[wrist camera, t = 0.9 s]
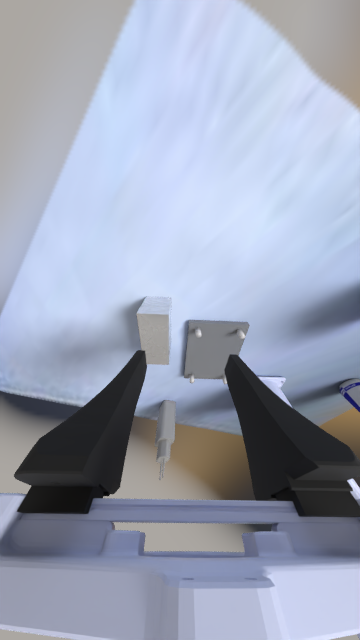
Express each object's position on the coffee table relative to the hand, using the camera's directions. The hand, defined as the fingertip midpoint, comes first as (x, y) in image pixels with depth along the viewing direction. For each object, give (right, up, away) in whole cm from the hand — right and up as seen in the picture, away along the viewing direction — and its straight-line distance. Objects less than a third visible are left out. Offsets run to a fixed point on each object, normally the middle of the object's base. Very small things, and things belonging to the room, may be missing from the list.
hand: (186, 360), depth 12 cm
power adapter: (-4, -18, +22) cm, 29 cm away
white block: (-4, +3, +9) cm, 11 cm away
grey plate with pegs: (+5, -2, +13) cm, 14 cm away
